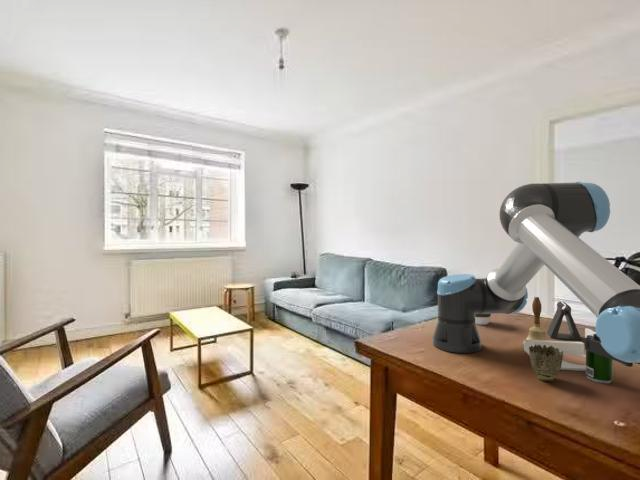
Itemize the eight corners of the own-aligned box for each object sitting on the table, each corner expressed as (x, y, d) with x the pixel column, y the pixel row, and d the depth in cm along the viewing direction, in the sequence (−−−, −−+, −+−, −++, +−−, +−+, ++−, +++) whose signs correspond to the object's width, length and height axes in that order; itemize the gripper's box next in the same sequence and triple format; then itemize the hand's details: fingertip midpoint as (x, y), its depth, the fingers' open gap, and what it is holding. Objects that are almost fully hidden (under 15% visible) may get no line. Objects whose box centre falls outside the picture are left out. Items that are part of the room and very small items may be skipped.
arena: (543, 368, 96) (543, 356, 96) (524, 350, 110) (524, 339, 109) (609, 372, 93) (609, 359, 92) (581, 353, 106) (581, 341, 106)
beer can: (601, 385, 86) (601, 337, 85) (580, 376, 91) (580, 331, 90) (618, 382, 87) (618, 335, 86) (596, 373, 92) (597, 329, 92)
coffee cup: (480, 328, 134) (480, 297, 134) (459, 321, 144) (459, 292, 144) (501, 324, 138) (501, 294, 138) (479, 317, 148) (479, 290, 148)
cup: (523, 372, 94) (523, 343, 93) (552, 373, 93) (552, 344, 92) (537, 385, 86) (538, 354, 86) (569, 386, 85) (569, 354, 85)
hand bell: (521, 346, 113) (521, 298, 113) (524, 339, 120) (524, 293, 119) (551, 351, 108) (551, 301, 108) (553, 343, 115) (553, 296, 114)
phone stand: (576, 335, 122) (577, 302, 122) (581, 341, 117) (581, 306, 116) (546, 333, 126) (547, 300, 126) (550, 338, 121) (550, 304, 120)
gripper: (602, 387, 62) (558, 348, 82) (791, 405, 54) (692, 357, 75) (602, 346, 62) (558, 316, 82) (792, 357, 54) (692, 322, 75)
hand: (622, 335), depth 78 cm, fingers open, 13 cm apart
